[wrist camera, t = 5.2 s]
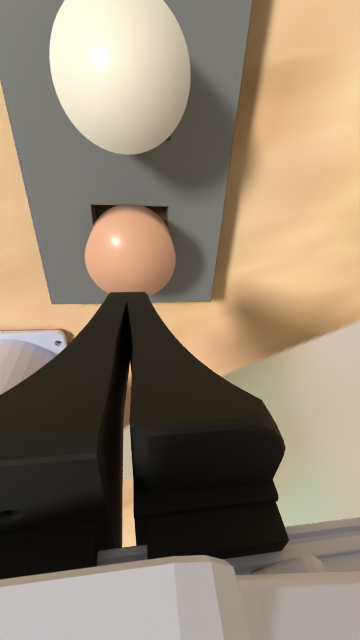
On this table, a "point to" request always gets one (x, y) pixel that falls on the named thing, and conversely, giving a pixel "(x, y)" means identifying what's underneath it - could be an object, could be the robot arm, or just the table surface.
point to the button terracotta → (130, 251)
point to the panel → (119, 169)
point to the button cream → (120, 71)
